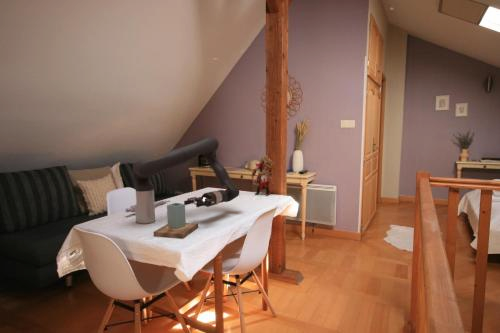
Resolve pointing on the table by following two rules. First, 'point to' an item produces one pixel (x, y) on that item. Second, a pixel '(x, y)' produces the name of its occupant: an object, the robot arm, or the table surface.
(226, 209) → the table surface
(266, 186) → the figurine
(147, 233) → the table surface
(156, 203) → the adjustable rod
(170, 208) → the collar
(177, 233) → the peg board
